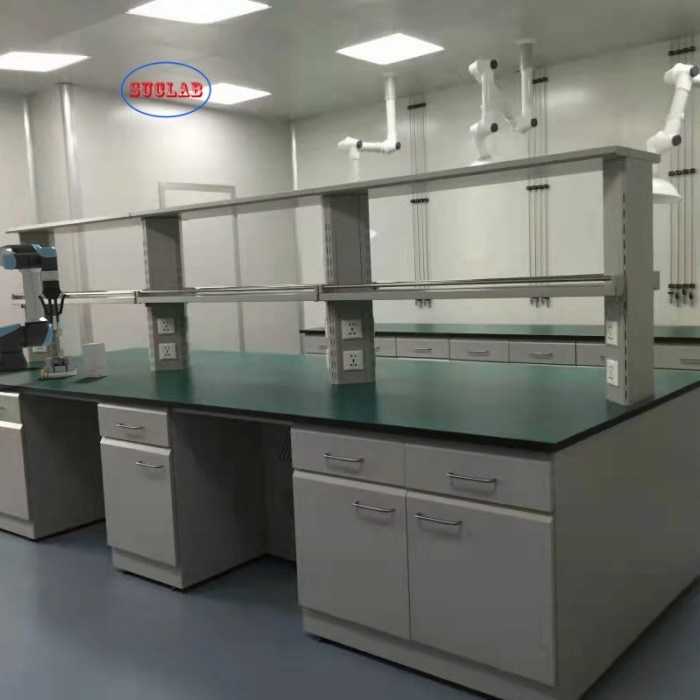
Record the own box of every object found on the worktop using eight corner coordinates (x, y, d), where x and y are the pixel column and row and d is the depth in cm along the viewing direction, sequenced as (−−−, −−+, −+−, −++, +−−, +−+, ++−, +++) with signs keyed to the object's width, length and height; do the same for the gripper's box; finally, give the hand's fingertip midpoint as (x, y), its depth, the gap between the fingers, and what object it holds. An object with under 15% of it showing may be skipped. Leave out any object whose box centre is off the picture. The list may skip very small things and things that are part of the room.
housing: (43, 375, 366) (41, 357, 365) (76, 372, 371) (74, 354, 370) (44, 379, 352) (42, 360, 351) (78, 376, 358) (76, 357, 357)
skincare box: (108, 375, 353) (105, 342, 351) (96, 378, 347) (93, 344, 346) (96, 375, 358) (93, 342, 356) (84, 377, 352) (81, 343, 350)
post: (41, 378, 355) (40, 370, 354) (44, 378, 356) (44, 369, 355) (41, 379, 353) (40, 370, 353) (45, 378, 354) (44, 370, 354)
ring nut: (37, 372, 357) (36, 359, 357) (58, 367, 370) (57, 355, 370) (60, 372, 352) (59, 359, 352) (81, 367, 365) (80, 355, 365)
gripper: (36, 280, 355) (41, 331, 358) (66, 279, 361) (70, 328, 364) (35, 280, 362) (39, 330, 364) (63, 279, 368) (68, 328, 371)
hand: (55, 329), depth 364 cm, fingers closed
